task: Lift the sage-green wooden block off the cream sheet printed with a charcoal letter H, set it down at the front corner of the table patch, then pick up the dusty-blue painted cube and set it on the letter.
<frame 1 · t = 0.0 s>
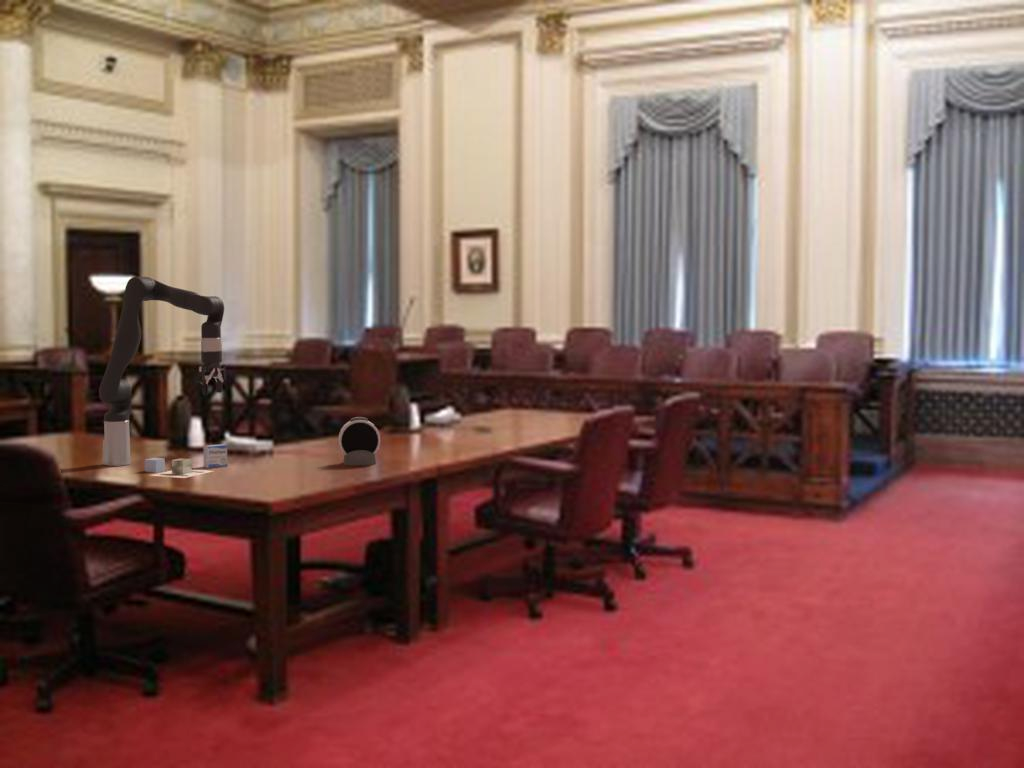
hand: (212, 393, 436), 29 cm above the table, fingers open, 8 cm apart
medicine box: (215, 468, 447), on the table
letter sheet: (181, 474, 430), on the table
alarm clock: (359, 463, 458), on the table
blue cube: (155, 472, 436), on the table
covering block: (181, 473, 430), resting on letter sheet
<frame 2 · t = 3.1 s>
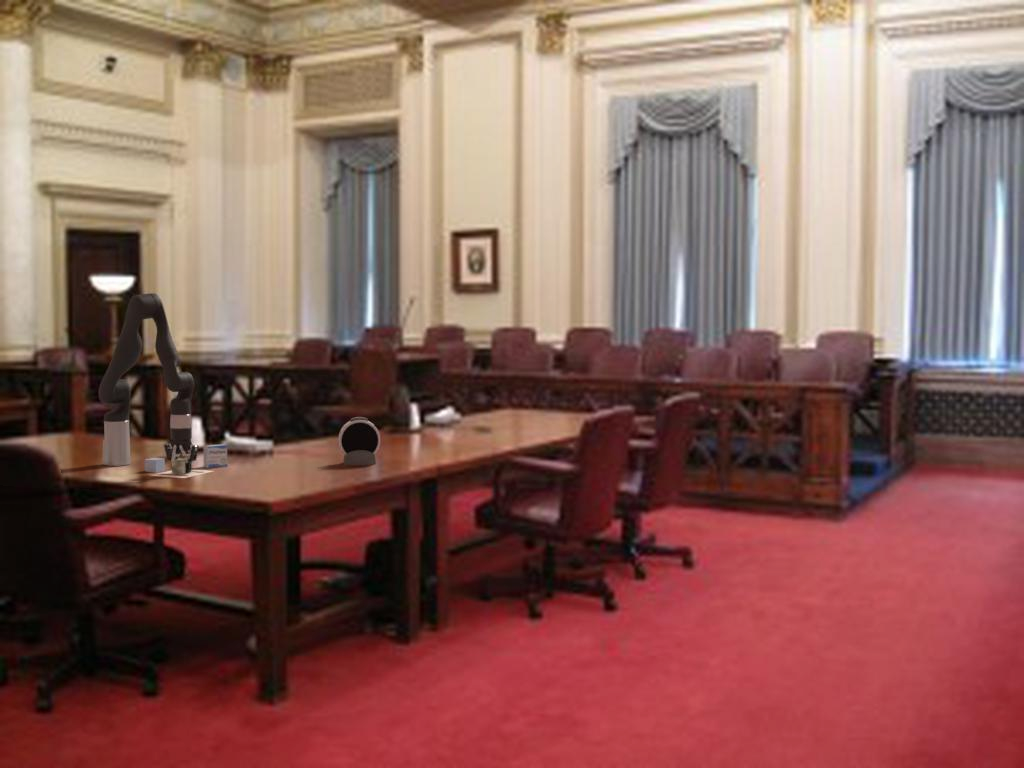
hand: (181, 472, 430), 1 cm above the table, fingers closed on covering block, 5 cm apart
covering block: (181, 473, 430), resting on letter sheet, touching gripper
everything else where it was.
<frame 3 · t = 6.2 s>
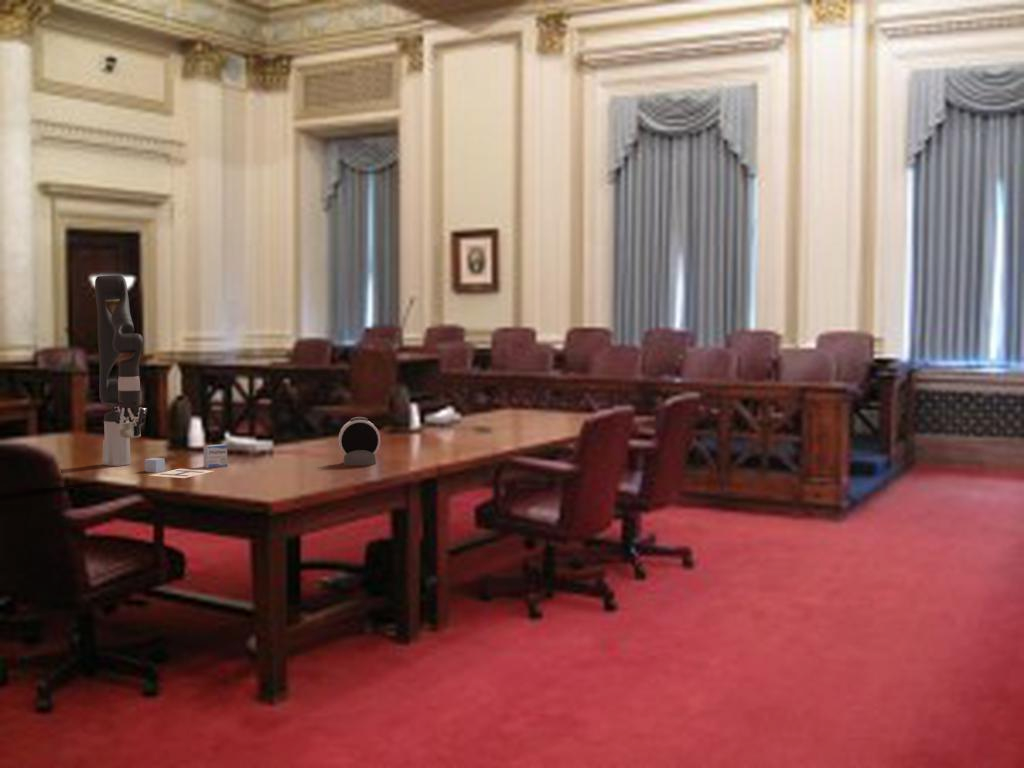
hand: (130, 435, 421), 15 cm above the table, fingers closed on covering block, 5 cm apart
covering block: (130, 436, 421), point 15 cm above the table, touching gripper
everything else where it was.
when the fingers open (2 cm above the table, at t = 9.3 s): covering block drops 2 cm, on the table.
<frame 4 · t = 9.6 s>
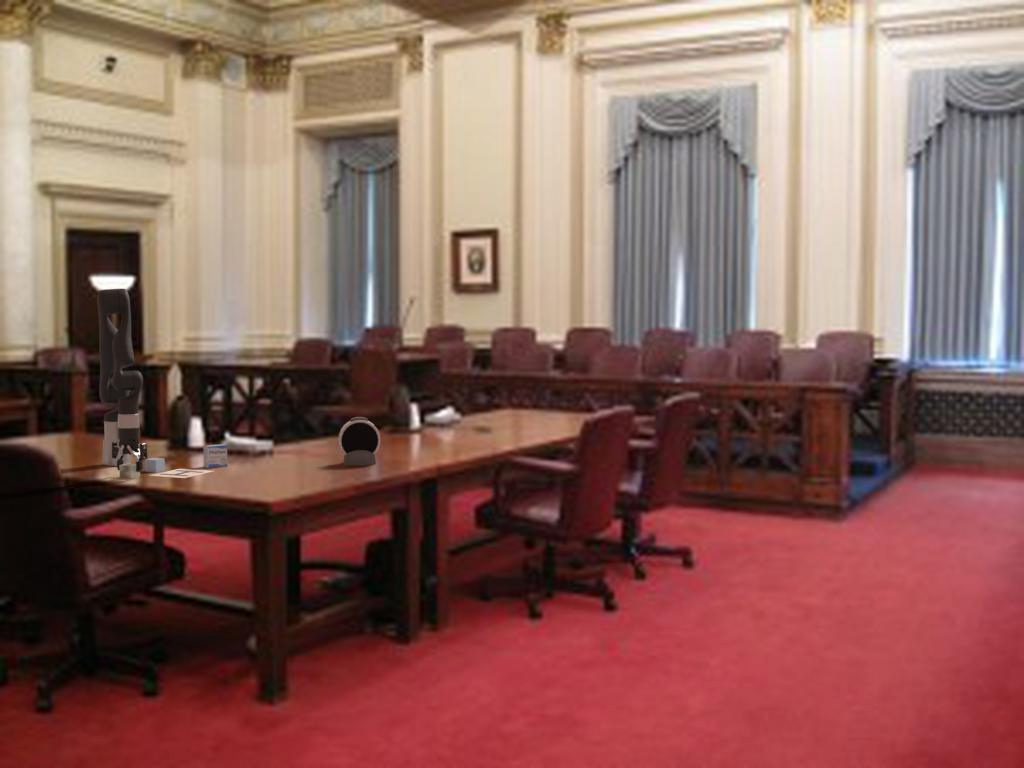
hand: (129, 471, 422), 3 cm above the table, fingers open, 8 cm apart
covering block: (130, 478, 422), on the table
everything else where it was.
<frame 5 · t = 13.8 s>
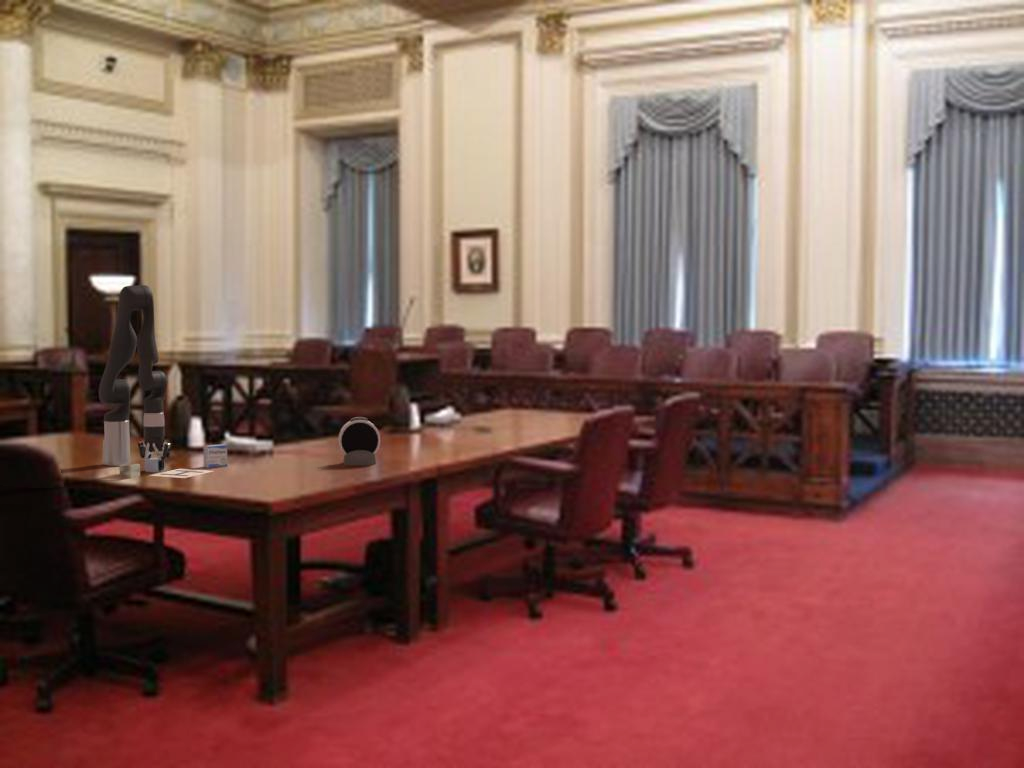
hand: (155, 469, 436), 1 cm above the table, fingers closed on blue cube, 5 cm apart
blue cube: (155, 472, 436), on the table, touching gripper
everything else where it was.
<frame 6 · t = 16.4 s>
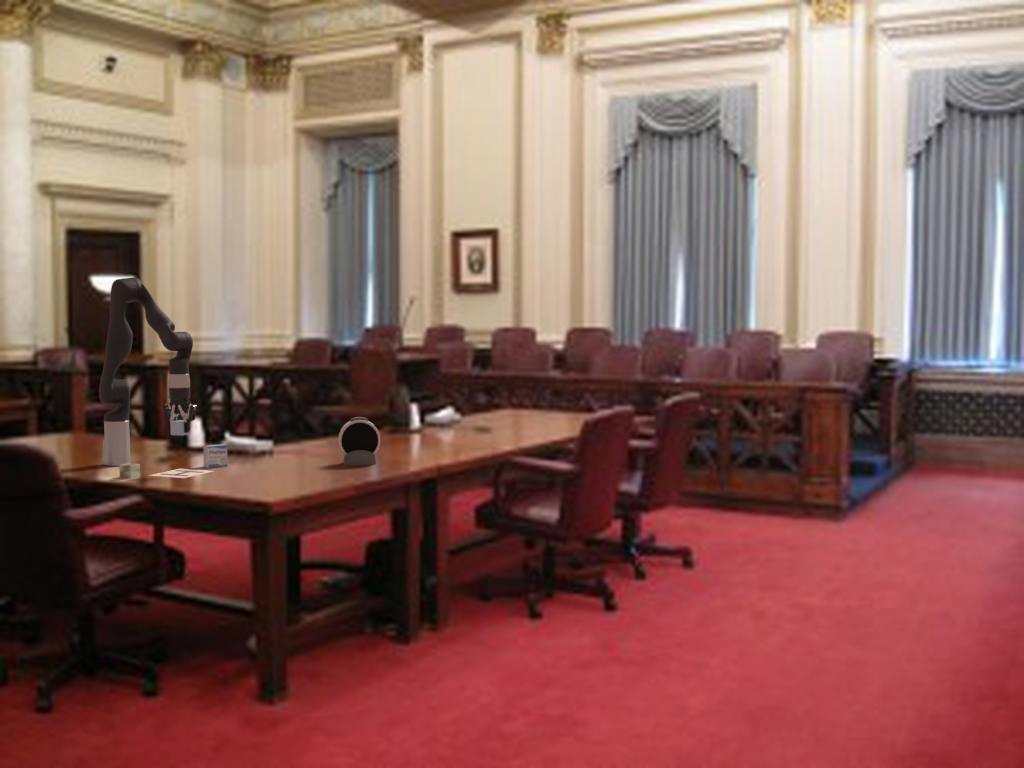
hand: (180, 432, 429), 16 cm above the table, fingers closed on blue cube, 5 cm apart
blue cube: (180, 434, 429), point 15 cm above the table, touching gripper
everything else where it was.
when the fingers open (3 cm above the table, at t = 19.2 s): blue cube drops 2 cm, resting on letter sheet.
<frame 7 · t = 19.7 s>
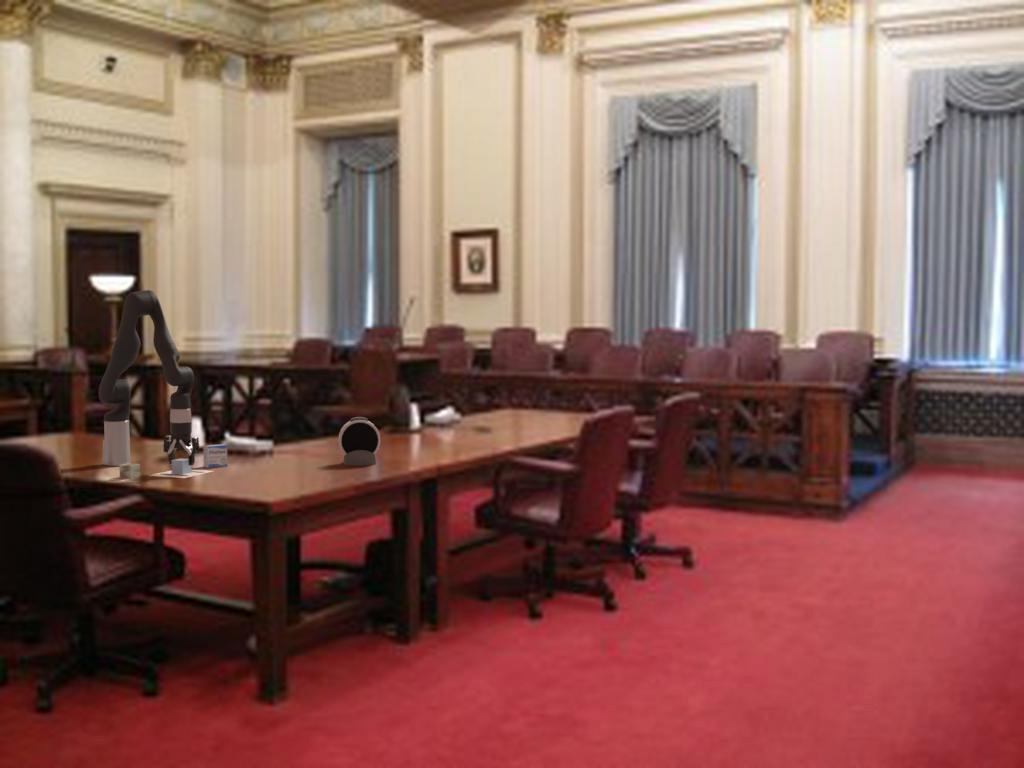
hand: (181, 464, 430), 4 cm above the table, fingers open, 8 cm apart
blue cube: (181, 473, 430), resting on letter sheet
everything else where it was.
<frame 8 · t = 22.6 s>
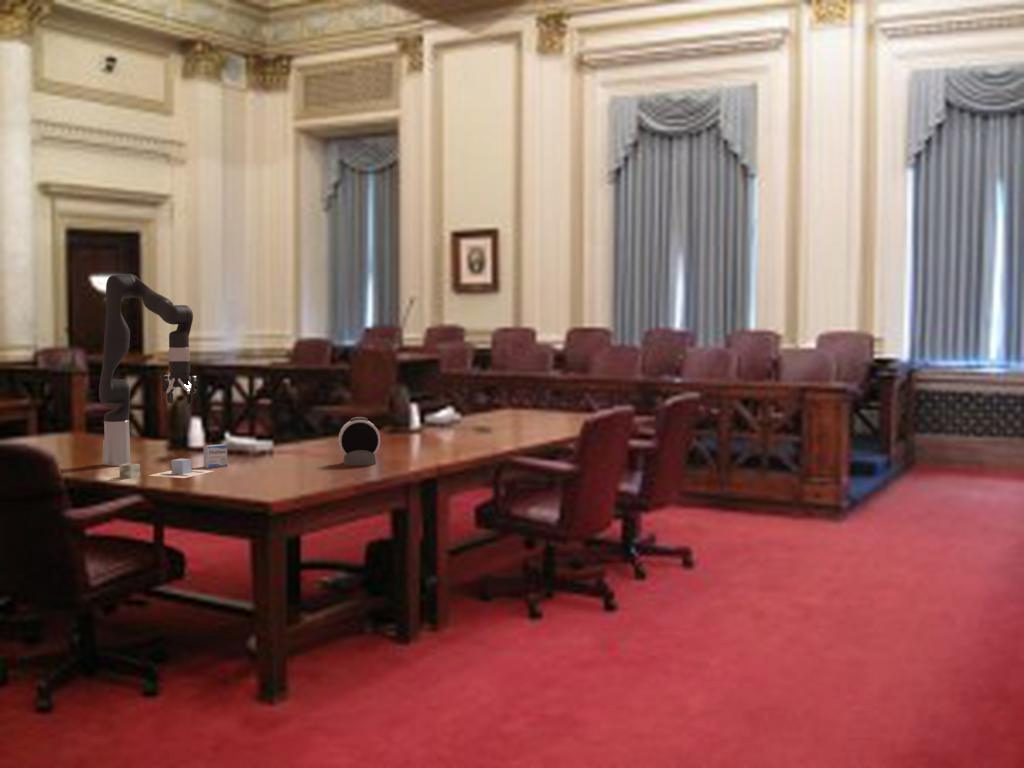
hand: (180, 403, 428), 26 cm above the table, fingers open, 8 cm apart
nothing on the table moved.
at the end: blue cube inside the target area on the letter sheet (0.1 cm from its centre), point 0.4 cm above the letter sheet's base; blue cube tilted 0°; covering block moved 18.5 cm from its start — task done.
